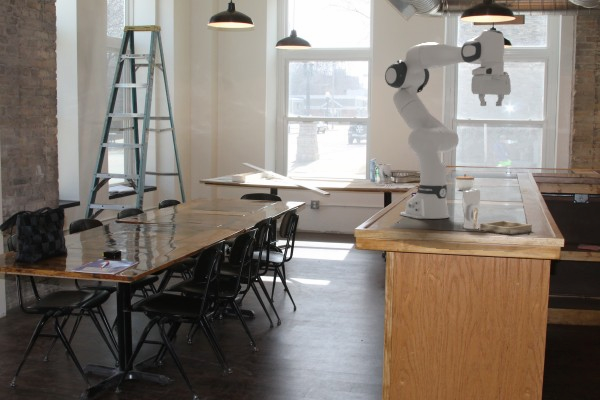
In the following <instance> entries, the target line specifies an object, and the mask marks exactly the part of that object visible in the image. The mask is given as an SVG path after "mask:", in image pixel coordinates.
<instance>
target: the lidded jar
mask: <svg viewBox="0 0 600 400" xmlns="http://www.w3.org/2000/svg"><path fill="white" fill-rule="evenodd" d="M455 184H456V187H457V189H458V190H459V191H463V190H472V189H473V187H474V184H475V177H474V176H469V175H468V176H467V174H465V173H464V174H463V176H462V175H461V176H459V175H458V176H456V177H455Z"/></svg>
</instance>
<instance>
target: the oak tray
mask: <svg viewBox="0 0 600 400" xmlns="http://www.w3.org/2000/svg"><path fill="white" fill-rule="evenodd" d="M532 226H533V224H530V223H529V224H528V223H522V222H516V221H515V222H514V221H508V220H507V221H506V220H498V221H492V222H486V223H480V226H479V227H480V228H479V230H484V231H483V232H486V231H490V232H489V233H493V232H495V233H494V234H499V233H502V234H501V235H506V234H512V235H517V234H518V233H519V234H524V233H525V234H526V233H530V232H532V231H533V227H532Z"/></svg>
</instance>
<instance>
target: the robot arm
mask: <svg viewBox="0 0 600 400" xmlns="http://www.w3.org/2000/svg"><path fill="white" fill-rule="evenodd" d="M504 53H505V37H504V34H503V32H502V31H500V30H496V29H484V30H483V31H482V32H481V33H480V34H479V35H478V36H476V37H474V38H472V39H468V40H466V41H465V42H464V43H463V44H462V46H456V45H451V44H447V43H446V44H445V43H441V42H425V43H421V44H417V45H413V46H411V47H409V48H408V49H407V51H406V54H405V59H404V60H401V59H399V60H396V62H395V63H392V64H391V65H390V66H388V67H387V68H386V70H385V72H384V73H385V75H384V80H385V82H386V84H387V85H388V86H389V87H391V88H395V89H397V90H396V91H395V93H394V94H393V98H392V100H393V103H394V105H395V108H396V110H397V112H398V114H400V117H402V119H403V121H404V123H405V124H406V125H407V127H408V128H409V130H411V131H410V133H409V136H408V139H407V143H408V146H409V148H410V149H409V150H411V151H412V152H413V153H414V155H415V156H416V159H417V161H418V165H419V174H420V175H419V176H420V178H419V179H420V180H419V182H420V183H419V185H416V186H415V189H416V190H417V191H416V194H414V195H413V196H412V197H411V198H409V199H408V200H407V201H406V203H405V209H404V211H401V212H400V213H399V216H405V217H407V218H413V219H419V220H422V219H424V220H428V219H432V220H433V219H439V220H440V219H447V218H450V214H449V211H448V210H449V209H448V204H447V194H448V191H447V190H448V187H447V186H448V185H447V167H446V165H445V164H444V163H443V162H441V159H440V156H439V154H440V153H443V154H444V153H448V152H451V151H454V150H455V149H456V148H457V147H458V145H459V141H460V140H459V139H460V138H459V136H458V133H457V131H456V130H454V129H452V128H450V127H449V126H447V125H445V124H444V123H443V122H441V121H440V120H439V119H437V117H435V116H434V115H433V114H432V113H431V112H430V111H429V109H428V108H427V106H426V105H425V104H424V103H423V101H422V100H421V99H420V97H419V96H418V94H419V93H421V92H423V90H424V88H425V87H426V86H427V84H428V83H429V79H430V71H429V69H431V70H432V69H437V68H441V67H445V66H449V65H455V64H460V63H461V64H462V63H468V64H471V65H473V64H474V65H480V66H479V67H476V68H473V69H472V70H471V75H472V77H471V85H470V86H471V88H470V89H471V93H472V94H473V95H478V99H479V102H480V106H481V107H486V106H487V101H486V100H485V97H486V95H492V96H494V95H496V96H497V101H495V107H502V104H503V100H504V98H505V95H506V96H507V95H508V96H509V95H510V94H511V93H512V88H511V87H512V86H511V79H510V75H509V73H508V72H507V71H504V67H505V66H504V65H505V62H504Z"/></svg>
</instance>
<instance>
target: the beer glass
mask: <svg viewBox="0 0 600 400" xmlns="http://www.w3.org/2000/svg"><path fill="white" fill-rule="evenodd" d="M481 199H482V198H481V190H479V189H470V190H462V203H461V204H462V212H463V219H464V221H463V226H462V228H463V230H478V228H479V227H480V226H479V215H480V208H481V201H482V200H481ZM479 229H480V228H479Z"/></svg>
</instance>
